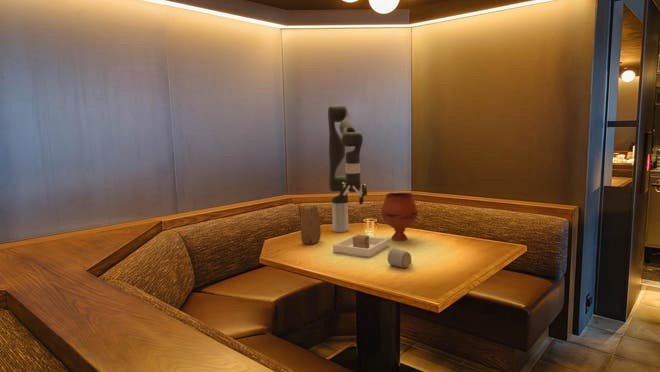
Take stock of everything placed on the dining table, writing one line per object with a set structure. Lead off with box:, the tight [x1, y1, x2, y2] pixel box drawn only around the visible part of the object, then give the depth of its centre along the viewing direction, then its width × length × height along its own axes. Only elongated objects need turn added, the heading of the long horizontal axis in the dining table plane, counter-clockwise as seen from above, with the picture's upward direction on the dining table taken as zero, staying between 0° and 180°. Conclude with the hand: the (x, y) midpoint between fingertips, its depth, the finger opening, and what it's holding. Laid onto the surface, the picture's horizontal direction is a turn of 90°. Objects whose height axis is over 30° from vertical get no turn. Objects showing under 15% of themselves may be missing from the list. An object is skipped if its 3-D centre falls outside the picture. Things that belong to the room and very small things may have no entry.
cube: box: [353, 234, 370, 249], centre depth 213 cm, size 6×6×6 cm
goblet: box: [381, 192, 418, 241], centre depth 231 cm, size 19×19×25 cm
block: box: [300, 205, 322, 245], centre depth 230 cm, size 11×8×20 cm
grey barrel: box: [387, 247, 413, 269], centre depth 186 cm, size 11×8×8 cm
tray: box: [332, 234, 390, 259], centre depth 213 cm, size 22×20×4 cm
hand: (353, 203), depth 217 cm, fingers open, 8 cm apart
